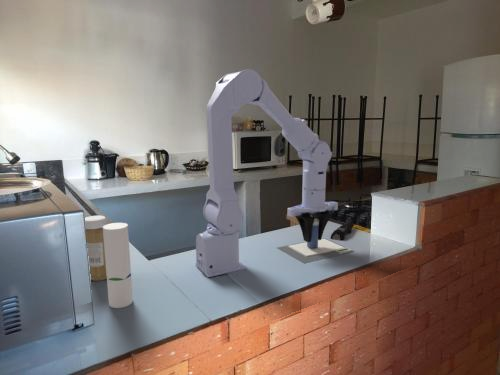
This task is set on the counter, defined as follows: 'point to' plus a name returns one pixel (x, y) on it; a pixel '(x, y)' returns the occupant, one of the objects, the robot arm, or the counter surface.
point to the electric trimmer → (342, 230)
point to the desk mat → (310, 258)
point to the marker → (314, 235)
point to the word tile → (343, 250)
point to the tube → (118, 264)
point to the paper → (322, 248)
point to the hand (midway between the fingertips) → (312, 240)
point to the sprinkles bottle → (96, 246)
